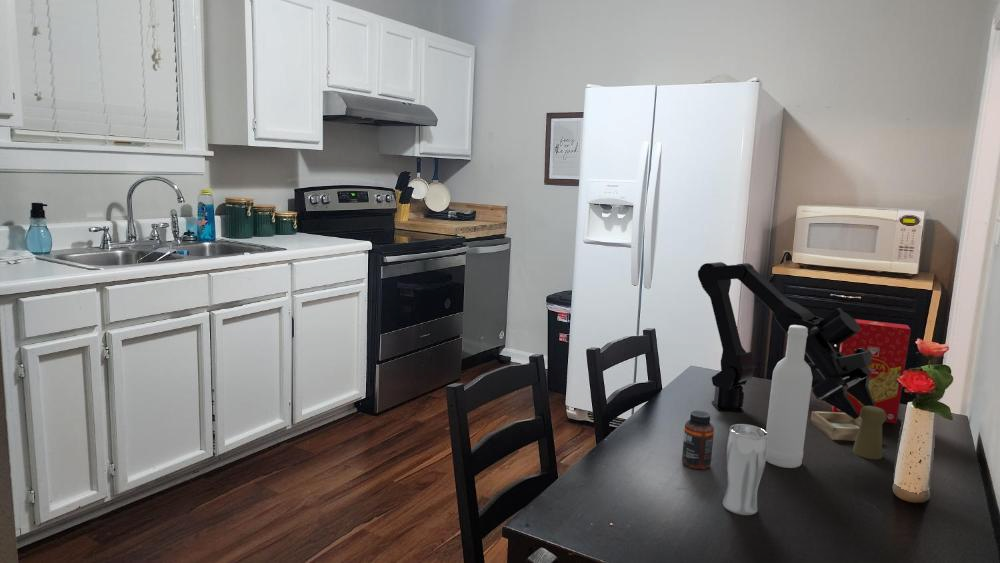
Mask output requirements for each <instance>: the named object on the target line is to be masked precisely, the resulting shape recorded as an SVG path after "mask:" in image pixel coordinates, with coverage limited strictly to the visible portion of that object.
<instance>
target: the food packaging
mask: <svg viewBox="0 0 1000 563" xmlns="http://www.w3.org/2000/svg"><path fill="white" fill-rule="evenodd" d="M854 319H855V320H856V322H857V323H858V325H859V327H860V331H859V332H858V333H856V334H855V335H853V336H852V337H850V338H849V339H847V340H846V341H844V342H843V343H841V344H839V351H840V352H842V353H843V354H844V356H848V355H852V354H854V351H855V350H856V349H859V348H865V349H866V350H867V351H869V353H870V354H872V358H871V362H872V365H868V369H869V370H870V371H871V374H870V375H868V376H871V378H870V380H869V384H868V387H869V390H870V393H871V396H872V399H873V401H874V404H875V407H879V408H881V409H883V410H884V411H885V413H886V420H885V422H884V423H891V424H897V420H898V416H899V415H898V414H899V409H900V408H899V407H900V401H901V394H902V388H903V385H902V386H901V385H900V384H899V383H898V382H897V378H898V377H899V376H901V375H902V373H903V371H904V372H905V370H906V369H905V368H906V362H907V356H908V349H909V342H910V337H911V331H912V329H911V328H910V327H909V325H907V324H901V323H892V322H884V321H882V322H881V321H875V320H874V321H873V320H865V319H857V318H854ZM839 351H838V352H839ZM868 376H867V377H868ZM865 378H866V377H865ZM842 387H843V386H842ZM848 388H849V387H847V389H848ZM847 396H848V397H849V399H850V401H851V402H852V404H853V406H854V407H855V409H856V411H857V413H858V415H859V416H860V410H861V409H862V407H864V405H863V404H862V403H861V402H860V401H858V400H857V399H856V398H855V397H853V396H852V395H851V394H850V393H848V392H847ZM831 412H840V413H844V412H843V411H841V410H839V409H838V408H836V407H834V406H832V405H831Z"/></svg>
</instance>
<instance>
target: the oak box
mask: <svg viewBox="0 0 1000 563" xmlns="http://www.w3.org/2000/svg"><path fill="white" fill-rule="evenodd" d="M861 421H862V419H861V418H860V416H859V417H858V418H857V419H854V418H852V417H851V416H849V415H847V414H846V413H840V412H833V411H816V410H815V411H811V415H810V423H811V425H813V426H814V427H815V428H817V430H819V431H820V432H821V433H823V435H825V436H826V437H827V438H829V439H830V440H831V441H832V440H833V441H852V442H855V440H856V437H857V434H858V430H859V427H860V424H861Z"/></svg>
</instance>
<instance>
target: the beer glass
mask: <svg viewBox="0 0 1000 563" xmlns="http://www.w3.org/2000/svg"><path fill="white" fill-rule="evenodd" d="M767 440H768V433H767V432H766V429H763V428H761V427H758V426H756V425H752V424H747V423H735V424H732V425H731V426H730V427H729V431H728V437H727V442H726V448H725V449H726V450H725V468H726V481H727V482H726V490H725V493H724V497H723V500H722V505H723V507H724V508H725V509H726V511H727V510H728V511H729V512H731V513H734V514H736V515H741V516H752V515H753V516H754V515H755V514H757V512H758V489H759V486H760V482H761V479H762V477H763V473H764V470H765V468H766V462H767V461H766V457H767Z"/></svg>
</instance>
